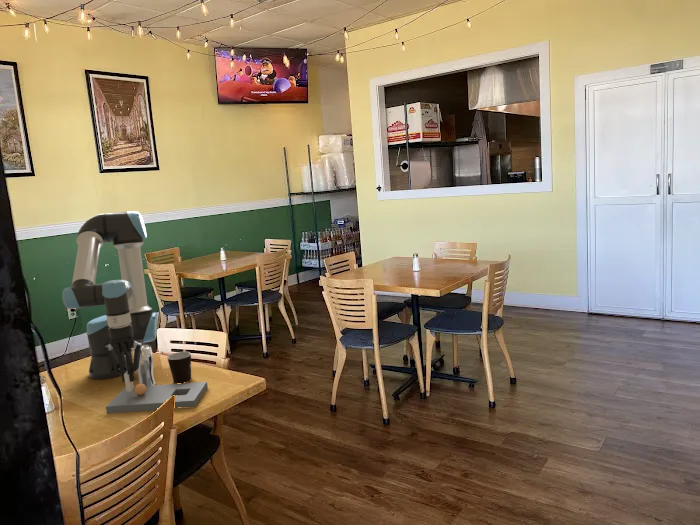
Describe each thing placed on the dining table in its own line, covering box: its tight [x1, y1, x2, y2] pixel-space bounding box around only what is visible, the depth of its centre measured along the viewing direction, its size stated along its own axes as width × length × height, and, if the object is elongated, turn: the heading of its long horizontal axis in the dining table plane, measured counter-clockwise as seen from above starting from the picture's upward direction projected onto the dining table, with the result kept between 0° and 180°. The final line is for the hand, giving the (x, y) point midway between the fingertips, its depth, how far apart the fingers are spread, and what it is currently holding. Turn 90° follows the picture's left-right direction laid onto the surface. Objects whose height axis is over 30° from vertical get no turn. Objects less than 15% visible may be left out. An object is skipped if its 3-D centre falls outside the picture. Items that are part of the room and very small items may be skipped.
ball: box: [134, 383, 147, 395], centre depth 191 cm, size 4×4×4 cm
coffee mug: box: [166, 351, 192, 384], centre depth 209 cm, size 12×9×10 cm
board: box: [105, 381, 209, 414], centre depth 191 cm, size 30×16×2 cm, turn 89°
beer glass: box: [131, 344, 157, 386], centre depth 205 cm, size 7×7×15 cm
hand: (130, 390), depth 191 cm, fingers closed
